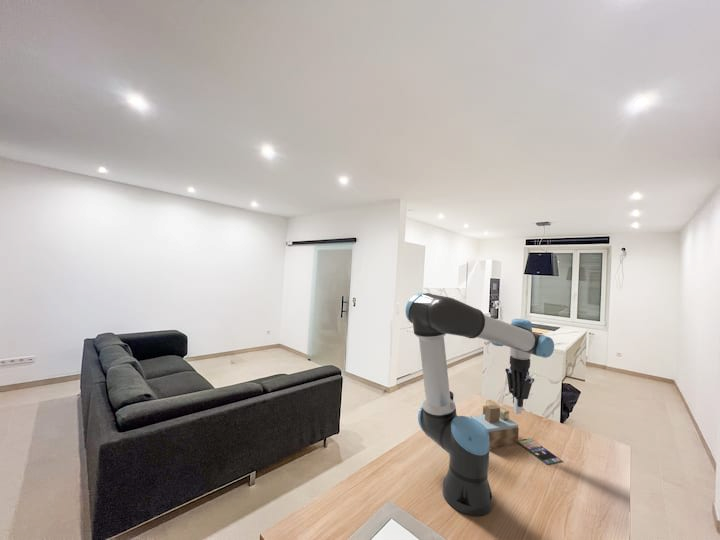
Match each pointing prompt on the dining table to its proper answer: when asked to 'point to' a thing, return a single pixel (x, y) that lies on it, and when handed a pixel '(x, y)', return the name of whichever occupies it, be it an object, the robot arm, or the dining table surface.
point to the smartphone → (539, 451)
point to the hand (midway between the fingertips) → (517, 412)
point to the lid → (494, 419)
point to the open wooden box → (502, 436)
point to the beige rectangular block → (503, 412)
